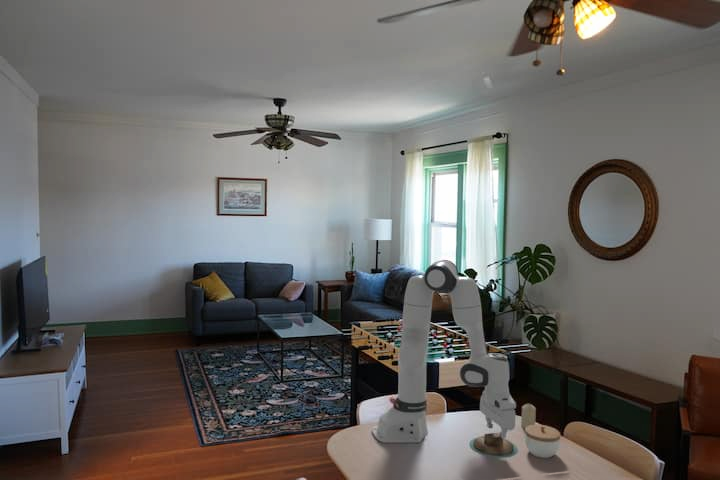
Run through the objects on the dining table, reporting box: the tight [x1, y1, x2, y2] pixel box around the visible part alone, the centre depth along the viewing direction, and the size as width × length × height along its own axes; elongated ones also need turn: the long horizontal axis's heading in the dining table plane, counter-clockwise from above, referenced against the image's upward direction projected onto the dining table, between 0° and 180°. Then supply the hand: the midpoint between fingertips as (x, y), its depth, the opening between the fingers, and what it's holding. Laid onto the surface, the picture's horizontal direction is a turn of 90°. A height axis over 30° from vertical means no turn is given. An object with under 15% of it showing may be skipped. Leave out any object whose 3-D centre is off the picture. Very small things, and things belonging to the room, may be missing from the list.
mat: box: [469, 437, 519, 459], centre depth 213 cm, size 18×18×1 cm
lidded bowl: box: [524, 424, 561, 459], centre depth 209 cm, size 13×13×11 cm
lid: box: [473, 432, 515, 456], centre depth 213 cm, size 15×15×4 cm
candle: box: [520, 403, 537, 429], centre depth 233 cm, size 6×6×10 cm
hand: (496, 432), depth 213 cm, fingers open, 8 cm apart
